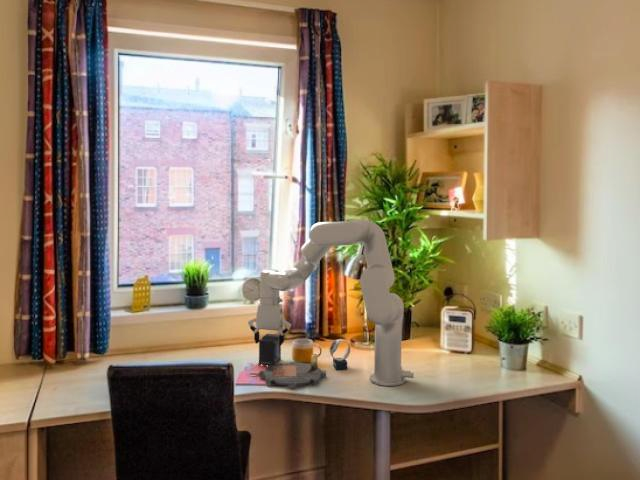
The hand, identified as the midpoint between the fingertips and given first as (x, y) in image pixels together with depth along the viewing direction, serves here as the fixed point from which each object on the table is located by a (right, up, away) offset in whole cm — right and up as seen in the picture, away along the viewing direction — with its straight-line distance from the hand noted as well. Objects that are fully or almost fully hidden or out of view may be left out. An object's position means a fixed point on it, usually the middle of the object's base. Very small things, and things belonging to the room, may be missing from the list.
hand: (269, 343), depth 220 cm
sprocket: (+10, -9, -18) cm, 22 cm away
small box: (0, -8, 0) cm, 8 cm away
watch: (+28, -9, -6) cm, 30 cm away
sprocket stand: (+5, -9, -17) cm, 20 cm away
